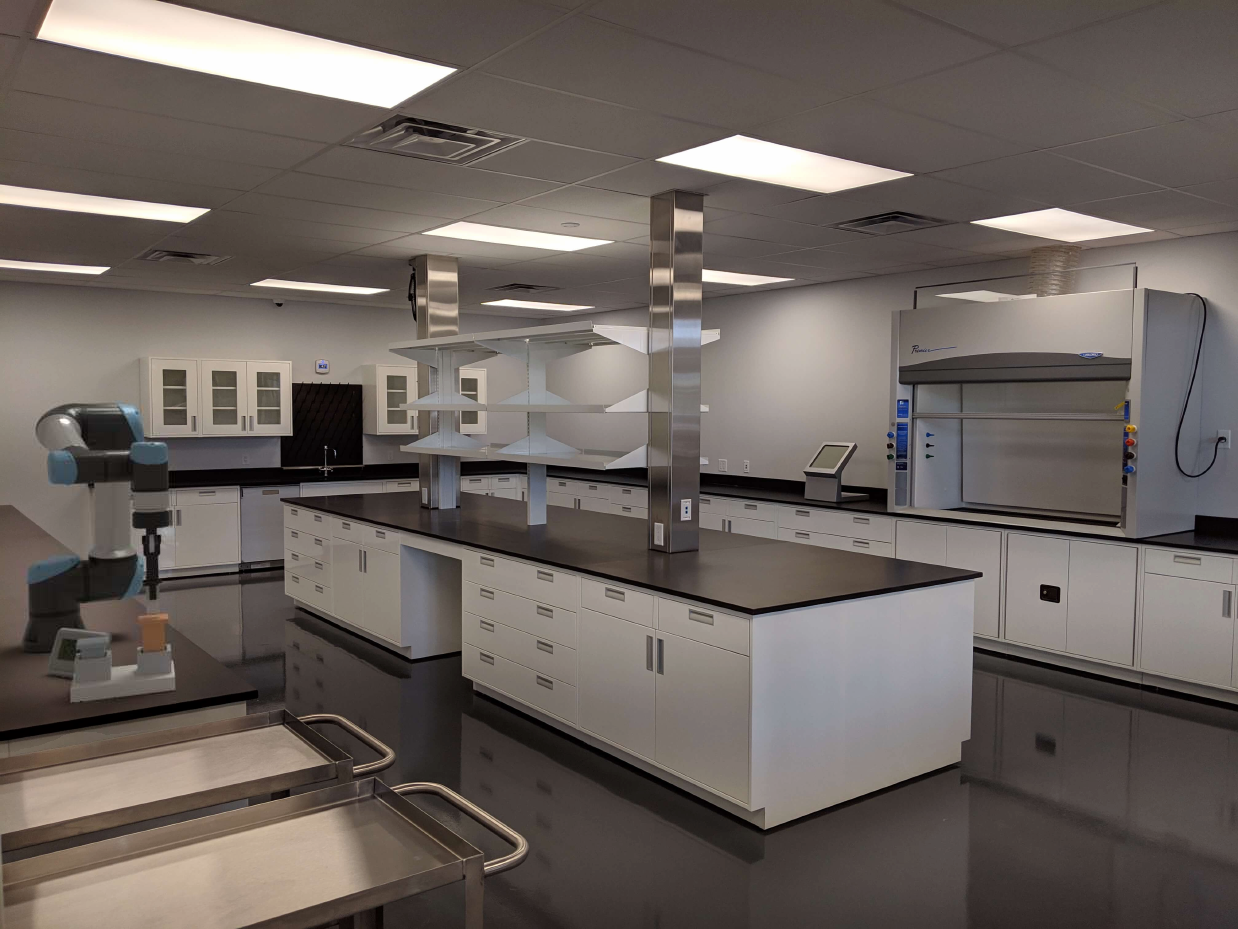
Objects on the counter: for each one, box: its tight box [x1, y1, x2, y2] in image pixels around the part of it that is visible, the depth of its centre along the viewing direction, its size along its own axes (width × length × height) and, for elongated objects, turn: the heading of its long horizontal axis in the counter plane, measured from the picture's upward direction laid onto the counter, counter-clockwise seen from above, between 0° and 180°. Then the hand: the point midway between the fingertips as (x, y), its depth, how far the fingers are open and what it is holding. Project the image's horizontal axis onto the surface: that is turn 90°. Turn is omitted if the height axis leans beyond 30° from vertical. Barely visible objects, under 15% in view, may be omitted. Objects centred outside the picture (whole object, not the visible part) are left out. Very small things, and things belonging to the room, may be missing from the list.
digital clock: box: [46, 628, 113, 679], centre depth 211 cm, size 16×9×11 cm, turn 59°
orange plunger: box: [137, 613, 169, 653], centre depth 204 cm, size 6×6×8 cm
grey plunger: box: [76, 636, 109, 659], centre depth 199 cm, size 6×6×8 cm
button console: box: [69, 643, 176, 704], centre depth 202 cm, size 15×20×8 cm
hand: (153, 613), depth 204 cm, fingers closed
